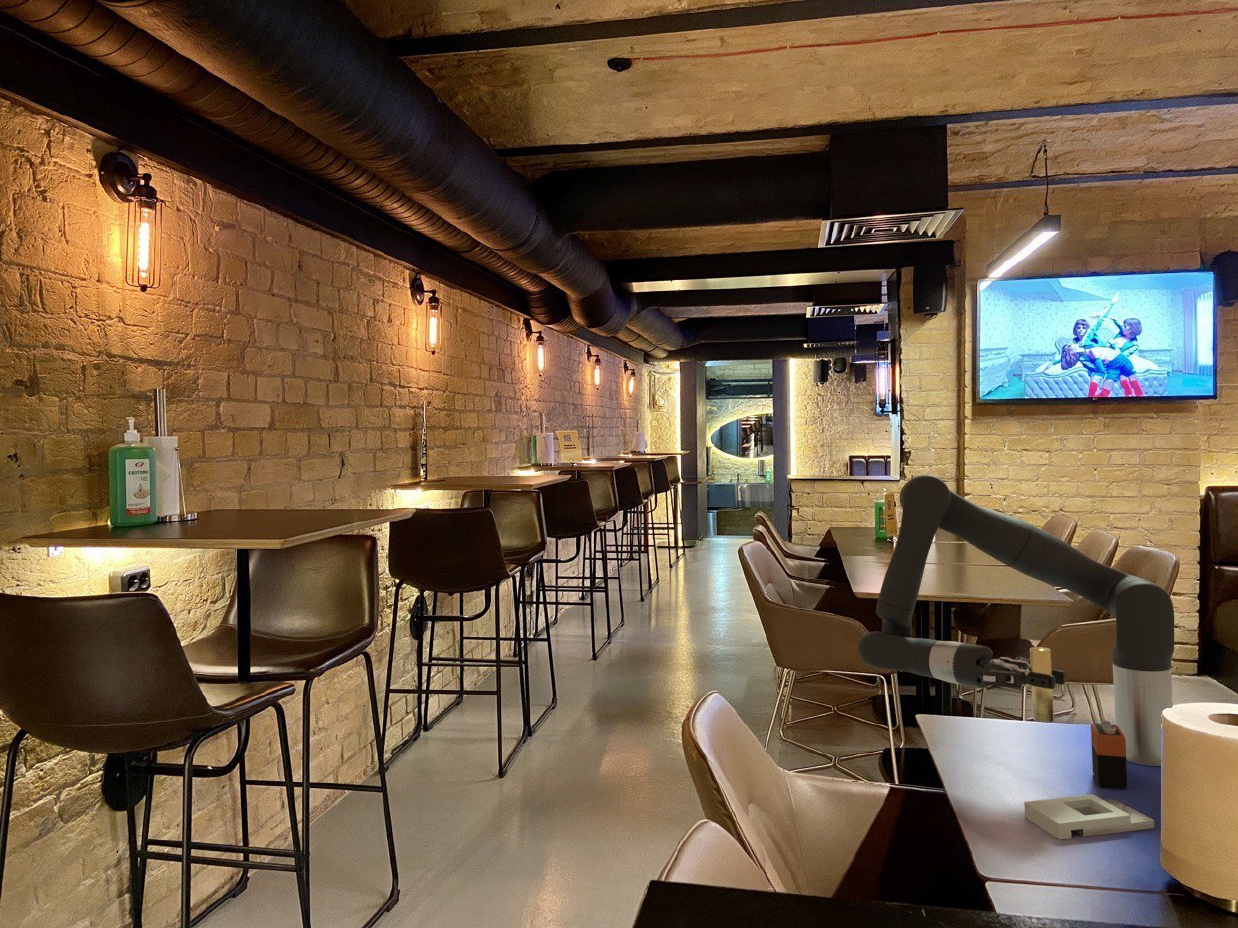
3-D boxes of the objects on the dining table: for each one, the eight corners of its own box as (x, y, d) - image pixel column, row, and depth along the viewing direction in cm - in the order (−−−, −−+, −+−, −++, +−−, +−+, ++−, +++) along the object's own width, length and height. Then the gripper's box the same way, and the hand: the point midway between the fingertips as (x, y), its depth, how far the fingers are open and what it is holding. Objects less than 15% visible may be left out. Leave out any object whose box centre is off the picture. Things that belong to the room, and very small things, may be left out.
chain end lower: (1083, 836, 123) (1083, 828, 123) (1047, 814, 131) (1047, 806, 131) (1154, 827, 124) (1154, 820, 124) (1115, 806, 132) (1114, 798, 132)
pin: (1045, 715, 141) (1042, 646, 141) (1058, 721, 138) (1055, 650, 138) (1028, 717, 141) (1025, 647, 141) (1041, 723, 137) (1037, 652, 137)
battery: (1098, 787, 140) (1096, 729, 140) (1092, 773, 146) (1089, 717, 146) (1128, 790, 138) (1125, 731, 138) (1120, 775, 145) (1118, 719, 145)
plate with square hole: (1092, 808, 132) (1092, 794, 132) (1131, 830, 124) (1130, 814, 124) (1024, 816, 130) (1024, 801, 130) (1059, 839, 122) (1058, 823, 122)
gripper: (940, 650, 146) (1039, 665, 133) (980, 636, 155) (1076, 650, 141) (942, 691, 146) (1041, 712, 133) (981, 676, 155) (1078, 693, 141)
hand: (1059, 680), depth 137 cm, fingers closed on pin, 3 cm apart
